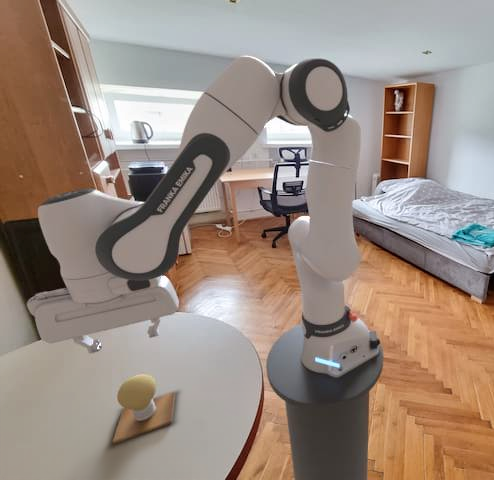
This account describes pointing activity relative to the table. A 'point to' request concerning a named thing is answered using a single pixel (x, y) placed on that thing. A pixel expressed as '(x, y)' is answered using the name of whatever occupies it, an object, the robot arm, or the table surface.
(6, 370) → the table surface
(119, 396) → the light bulb
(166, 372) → the table surface
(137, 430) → the wooden board
